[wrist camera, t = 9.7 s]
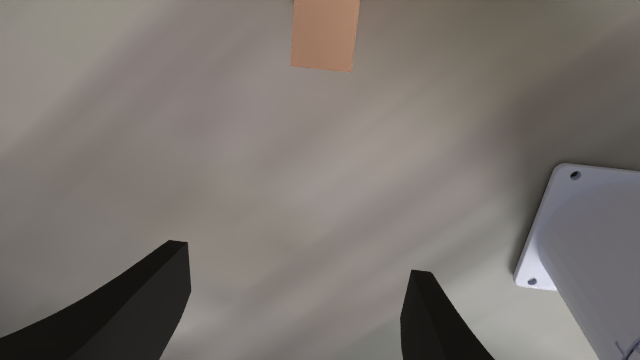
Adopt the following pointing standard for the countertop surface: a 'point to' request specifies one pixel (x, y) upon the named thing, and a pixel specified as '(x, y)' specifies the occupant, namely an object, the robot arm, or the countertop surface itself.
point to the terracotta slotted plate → (324, 34)
